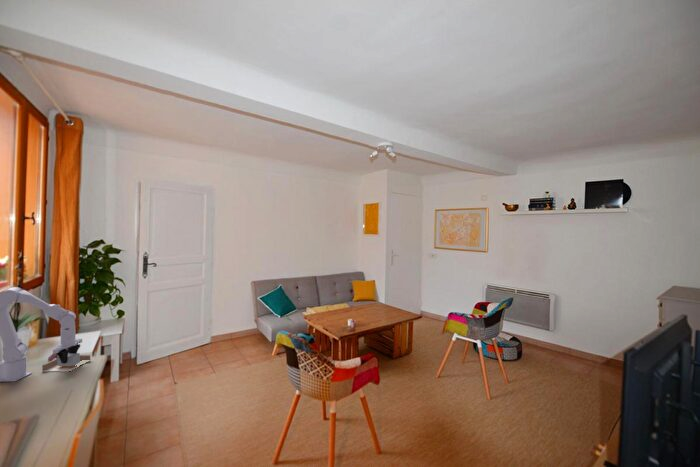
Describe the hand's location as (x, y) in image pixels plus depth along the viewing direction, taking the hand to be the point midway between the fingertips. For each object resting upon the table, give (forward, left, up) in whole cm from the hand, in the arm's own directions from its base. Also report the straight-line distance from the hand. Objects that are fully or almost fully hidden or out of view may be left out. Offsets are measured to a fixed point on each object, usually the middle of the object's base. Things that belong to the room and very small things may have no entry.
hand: (68, 361), depth 157 cm
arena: (-1, +1, -3) cm, 4 cm away
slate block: (0, 0, -2) cm, 2 cm away
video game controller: (-14, +11, -3) cm, 18 cm away
